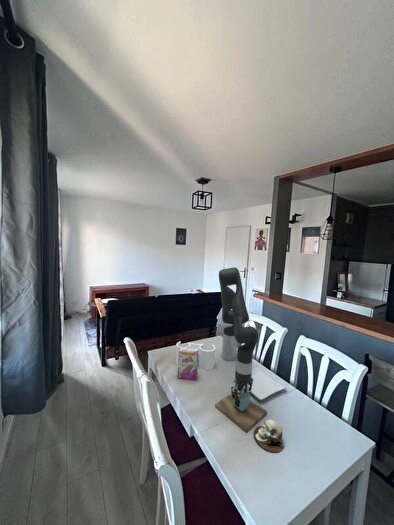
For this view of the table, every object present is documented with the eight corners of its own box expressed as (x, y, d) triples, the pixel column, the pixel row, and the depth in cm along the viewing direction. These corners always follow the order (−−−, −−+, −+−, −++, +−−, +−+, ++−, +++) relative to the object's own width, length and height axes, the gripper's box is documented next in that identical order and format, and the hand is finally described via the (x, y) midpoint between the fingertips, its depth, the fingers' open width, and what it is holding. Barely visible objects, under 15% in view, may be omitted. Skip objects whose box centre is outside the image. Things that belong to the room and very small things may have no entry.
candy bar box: (177, 378, 126) (178, 351, 124) (178, 373, 131) (179, 347, 129) (196, 380, 125) (198, 353, 123) (197, 375, 129) (198, 348, 128)
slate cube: (239, 399, 108) (240, 388, 107) (249, 405, 104) (250, 394, 103) (232, 404, 104) (233, 393, 104) (242, 411, 100) (243, 400, 99)
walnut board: (236, 393, 116) (236, 390, 116) (266, 414, 103) (267, 411, 102) (215, 407, 106) (215, 404, 105) (246, 432, 92) (246, 429, 92)
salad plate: (287, 391, 120) (288, 385, 119) (260, 405, 108) (260, 399, 108) (257, 371, 138) (258, 365, 137) (231, 381, 126) (232, 375, 126)
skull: (260, 453, 82) (255, 419, 88) (253, 450, 91) (249, 420, 97) (291, 452, 83) (284, 419, 89) (281, 450, 91) (276, 419, 97)
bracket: (173, 366, 138) (174, 347, 137) (177, 358, 148) (178, 340, 146) (213, 371, 135) (215, 352, 134) (214, 362, 145) (215, 344, 143)
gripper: (246, 360, 110) (243, 392, 111) (227, 370, 100) (224, 405, 102) (259, 367, 104) (256, 400, 106) (240, 379, 94) (237, 415, 96)
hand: (241, 402), depth 104 cm, fingers closed on slate cube, 5 cm apart
